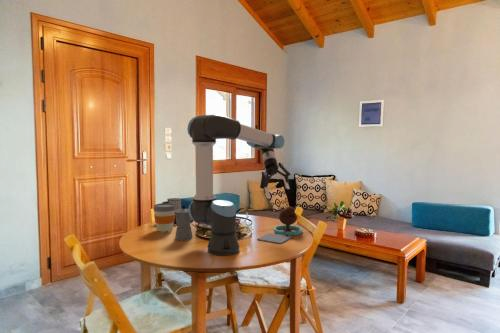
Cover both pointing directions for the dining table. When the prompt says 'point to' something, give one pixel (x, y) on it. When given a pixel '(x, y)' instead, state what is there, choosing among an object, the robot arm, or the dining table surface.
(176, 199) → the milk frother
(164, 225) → the reusable coffee cup
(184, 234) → the coffeepot
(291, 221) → the ice cream bowl
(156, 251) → the dining table surface
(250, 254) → the dining table surface
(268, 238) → the mat
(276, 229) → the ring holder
